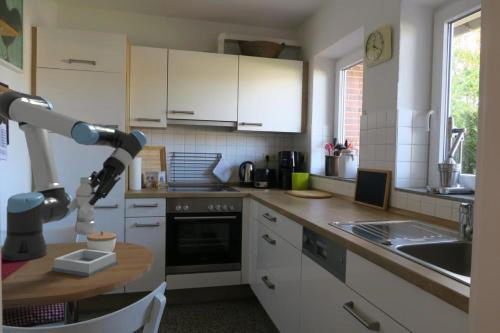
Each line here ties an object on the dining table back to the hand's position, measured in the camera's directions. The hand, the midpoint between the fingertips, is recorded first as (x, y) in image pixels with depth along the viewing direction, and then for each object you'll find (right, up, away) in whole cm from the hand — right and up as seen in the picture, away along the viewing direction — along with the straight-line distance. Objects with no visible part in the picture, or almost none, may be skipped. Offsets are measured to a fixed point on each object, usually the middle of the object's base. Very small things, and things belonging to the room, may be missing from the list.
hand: (76, 210), depth 120 cm
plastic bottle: (+1, -9, +3) cm, 10 cm away
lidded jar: (0, -20, +20) cm, 28 cm away
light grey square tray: (+1, -20, +4) cm, 21 cm away
